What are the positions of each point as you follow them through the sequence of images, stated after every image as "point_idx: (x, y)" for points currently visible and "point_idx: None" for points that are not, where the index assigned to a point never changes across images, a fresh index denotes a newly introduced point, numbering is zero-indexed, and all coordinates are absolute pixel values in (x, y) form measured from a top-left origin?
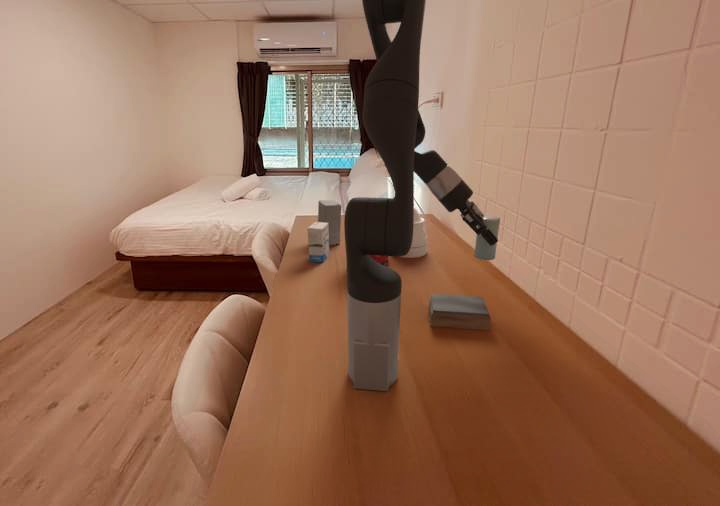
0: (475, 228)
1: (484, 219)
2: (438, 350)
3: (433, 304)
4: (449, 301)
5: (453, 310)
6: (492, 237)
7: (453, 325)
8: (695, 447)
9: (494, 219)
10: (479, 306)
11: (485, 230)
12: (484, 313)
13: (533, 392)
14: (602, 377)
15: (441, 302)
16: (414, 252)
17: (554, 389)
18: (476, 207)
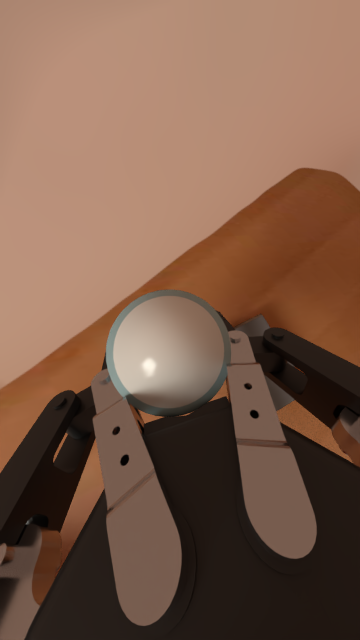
0: (285, 380)
1: (221, 362)
2: None
3: (292, 398)
4: (265, 379)
5: (288, 362)
6: (223, 317)
7: None
8: (301, 173)
9: (183, 313)
10: (250, 333)
11: (258, 337)
12: (265, 321)
13: (324, 259)
14: (262, 216)
15: (276, 390)
16: None
17: (307, 245)
18: (165, 494)
